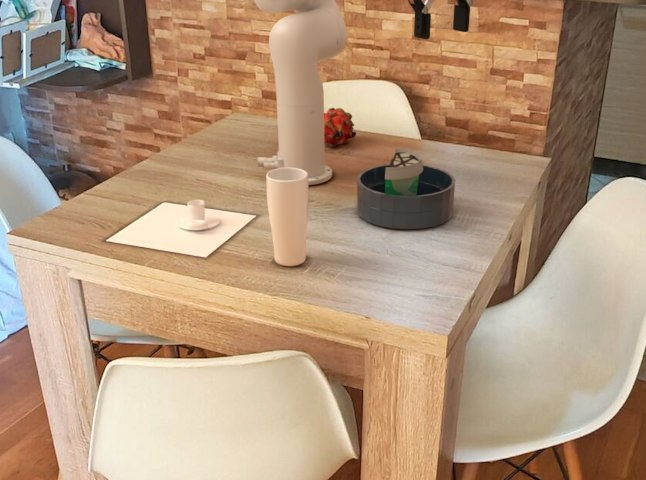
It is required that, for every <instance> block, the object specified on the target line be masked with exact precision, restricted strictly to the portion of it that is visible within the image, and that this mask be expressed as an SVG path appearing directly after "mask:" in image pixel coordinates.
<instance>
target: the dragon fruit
mask: <svg viewBox="0 0 646 480" xmlns="http://www.w3.org/2000/svg"><path fill="white" fill-rule="evenodd" d="M352 118H353V115H352V114H351V113H350V112H348V111H347V112H346V111H345V110H344V109H343V108H341V107H337V108H335V107H330V108H328V110H327V111H326V113H325V112H324V143H326V144H327V146H328V147H330V148H335V147H336V146H337V145H345V144H346V143H348V142H349V141H350V140H351V139H353V138H355V137H356V135H357V131H354V129H355V128H354V126H355V123H354V122H353V121H352Z"/></svg>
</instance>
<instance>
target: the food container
mask: <svg viewBox="0 0 646 480" xmlns="http://www.w3.org/2000/svg"><path fill="white" fill-rule="evenodd" d="M421 158H422V157H421V155H420V154H419V153H417V152H415V151H412V150H409V149H405V148H396V147H395V148H394V155H393V158H392V159H391V160H390V162H389V164H390V165H389V167H386V171H385V194H391V195H402V196H416V195H417V188H418V180H419V174H420V173H422V171H423V165H424V164H423V160H422V159H421Z"/></svg>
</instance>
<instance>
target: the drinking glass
mask: <svg viewBox="0 0 646 480" xmlns="http://www.w3.org/2000/svg"><path fill="white" fill-rule="evenodd" d="M265 185H266V186H265V190H266V192H265V193H266V194H265V195H266V203H267V210H268V211H267V212H268V217H269V224H270V231H271V240H272V245H273V247H272V248H273V258H274V262H275V263H277V264H278V265H280V266H283V267H296V266H299V265H302V264H303V263H304V262H305V261H306V259H307V234H308V233H307V232H308V219H309V218H308V217H309V202H310V201H309V199H310V192H309V191H310V190H309V189H310V188H309V187H310V185H308V174H307V172H306V171H304V170H302V169H298V168H278V169H274V170H273V169H270V170H269V171H268V172H266V174H265Z"/></svg>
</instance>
